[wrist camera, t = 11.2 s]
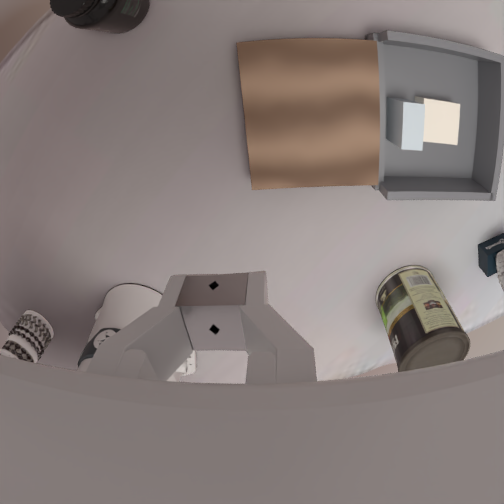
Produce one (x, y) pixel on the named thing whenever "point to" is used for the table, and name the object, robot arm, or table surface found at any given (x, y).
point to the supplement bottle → (102, 13)
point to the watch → (492, 257)
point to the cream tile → (440, 120)
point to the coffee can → (420, 320)
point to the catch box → (470, 122)
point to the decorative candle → (28, 338)
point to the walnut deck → (311, 111)
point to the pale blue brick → (405, 123)
